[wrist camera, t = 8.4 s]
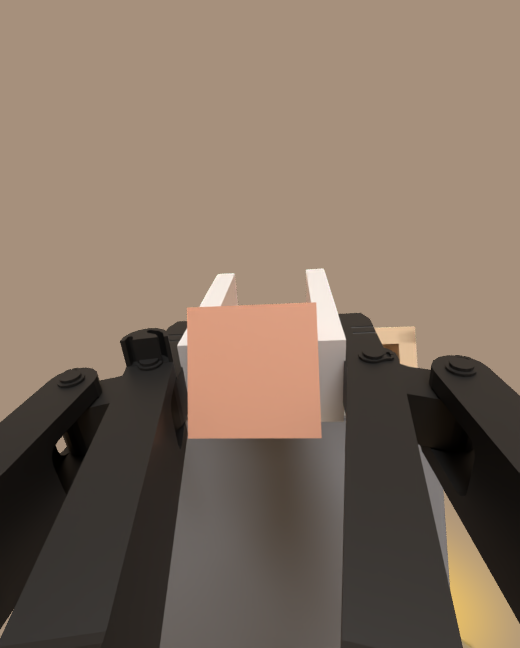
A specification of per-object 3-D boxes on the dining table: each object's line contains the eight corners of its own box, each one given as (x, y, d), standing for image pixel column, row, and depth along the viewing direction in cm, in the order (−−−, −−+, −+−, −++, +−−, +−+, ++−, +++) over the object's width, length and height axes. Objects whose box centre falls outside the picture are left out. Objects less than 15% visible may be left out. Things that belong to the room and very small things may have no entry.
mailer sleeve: (225, 391, 38) (224, 346, 39) (355, 389, 37) (353, 342, 37) (-25, 512, 9) (-17, 311, 9) (588, 524, 7) (563, 287, 8)
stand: (220, 634, 42) (216, 356, 45) (380, 643, 40) (365, 353, 43) (137, 930, 20) (140, 357, 23) (476, 978, 19) (433, 349, 22)
